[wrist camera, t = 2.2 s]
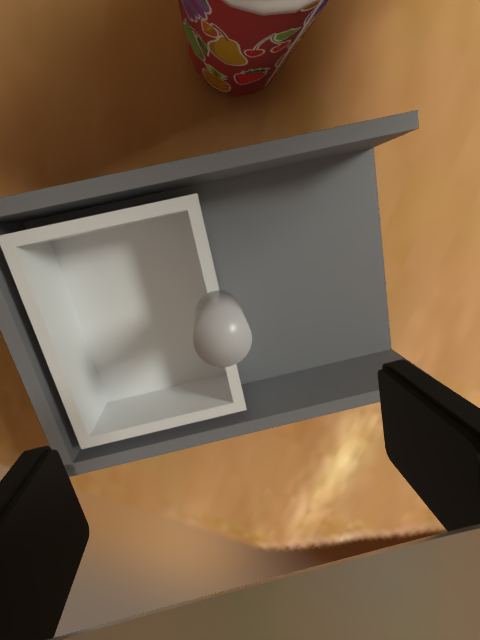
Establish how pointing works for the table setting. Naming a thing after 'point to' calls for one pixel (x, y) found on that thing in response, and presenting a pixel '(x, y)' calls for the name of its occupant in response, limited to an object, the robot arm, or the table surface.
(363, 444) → the table surface
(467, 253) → the table surface
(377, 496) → the table surface
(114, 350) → the drawer
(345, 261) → the bay
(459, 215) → the table surface
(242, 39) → the smoothie
